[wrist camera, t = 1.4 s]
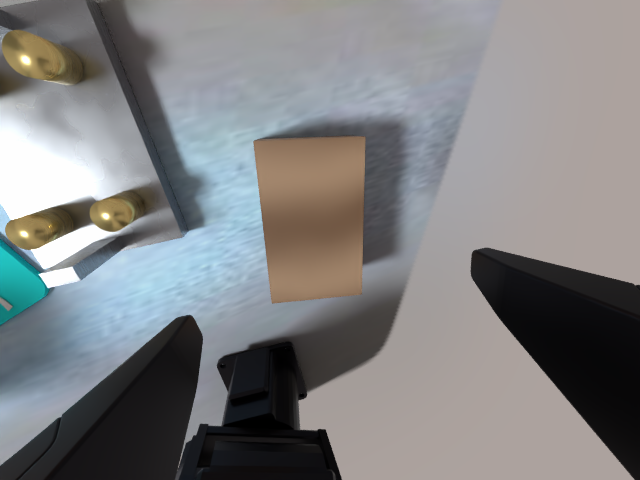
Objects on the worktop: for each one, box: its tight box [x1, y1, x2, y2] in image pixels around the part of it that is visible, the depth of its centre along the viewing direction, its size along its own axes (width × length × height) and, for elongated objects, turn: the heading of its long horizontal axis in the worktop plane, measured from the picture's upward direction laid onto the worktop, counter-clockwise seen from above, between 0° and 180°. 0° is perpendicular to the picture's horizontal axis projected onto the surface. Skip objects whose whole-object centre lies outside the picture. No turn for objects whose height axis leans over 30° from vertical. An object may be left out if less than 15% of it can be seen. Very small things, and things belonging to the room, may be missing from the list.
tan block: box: [253, 136, 365, 303], centre depth 19 cm, size 10×6×4 cm, turn 2°
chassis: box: [0, 0, 188, 288], centre depth 14 cm, size 13×9×6 cm
